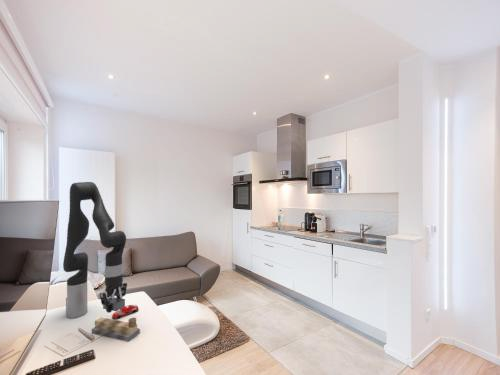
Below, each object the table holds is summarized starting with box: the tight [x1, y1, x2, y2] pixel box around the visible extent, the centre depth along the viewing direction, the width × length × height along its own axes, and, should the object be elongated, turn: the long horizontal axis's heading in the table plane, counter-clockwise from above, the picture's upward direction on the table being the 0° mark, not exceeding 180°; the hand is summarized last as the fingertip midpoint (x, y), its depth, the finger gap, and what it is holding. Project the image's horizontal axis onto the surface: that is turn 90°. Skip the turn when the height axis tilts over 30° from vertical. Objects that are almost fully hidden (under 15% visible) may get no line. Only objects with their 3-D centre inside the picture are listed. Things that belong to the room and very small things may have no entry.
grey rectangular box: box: [102, 296, 126, 312], centre depth 116 cm, size 8×5×4 cm, turn 72°
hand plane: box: [91, 317, 141, 342], centre depth 116 cm, size 23×7×8 cm, turn 72°
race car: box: [111, 304, 139, 320], centre depth 134 cm, size 13×5×4 cm, turn 137°
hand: (114, 309), depth 116 cm, fingers closed on grey rectangular box, 5 cm apart
